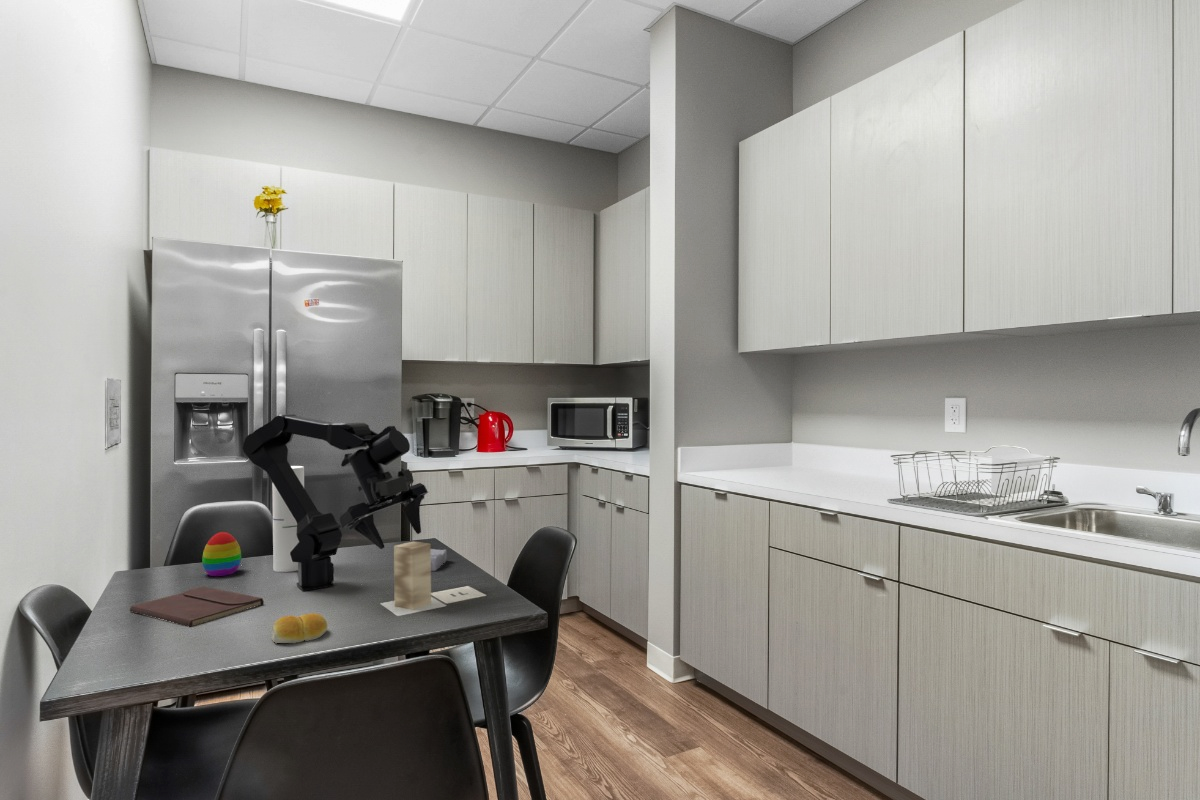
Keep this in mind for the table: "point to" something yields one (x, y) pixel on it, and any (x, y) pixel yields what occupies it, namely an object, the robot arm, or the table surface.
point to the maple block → (412, 575)
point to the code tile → (457, 594)
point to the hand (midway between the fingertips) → (401, 540)
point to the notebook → (197, 605)
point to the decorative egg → (221, 555)
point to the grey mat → (403, 611)
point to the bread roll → (298, 628)
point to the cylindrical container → (284, 529)
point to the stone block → (437, 558)
